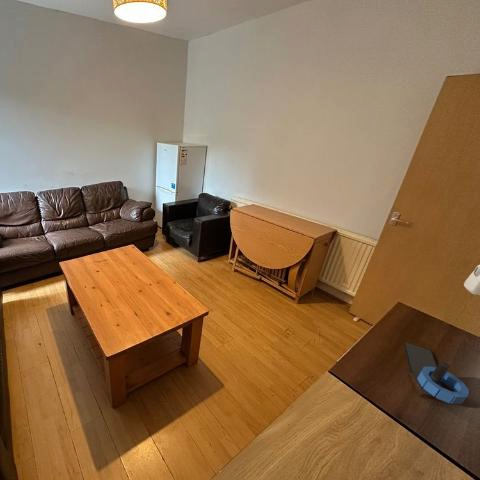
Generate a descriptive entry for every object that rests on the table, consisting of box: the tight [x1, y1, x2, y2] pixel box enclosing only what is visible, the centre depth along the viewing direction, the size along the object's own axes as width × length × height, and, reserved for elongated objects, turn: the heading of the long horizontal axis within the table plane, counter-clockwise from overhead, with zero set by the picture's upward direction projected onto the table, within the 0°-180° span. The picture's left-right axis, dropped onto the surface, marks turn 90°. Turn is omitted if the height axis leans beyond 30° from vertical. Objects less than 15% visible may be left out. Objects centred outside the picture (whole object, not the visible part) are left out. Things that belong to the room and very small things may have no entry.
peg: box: [407, 360, 452, 405], centre depth 72 cm, size 7×7×10 cm
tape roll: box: [417, 367, 470, 405], centre depth 72 cm, size 9×10×3 cm
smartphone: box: [403, 342, 444, 384], centre depth 82 cm, size 7×1×15 cm
